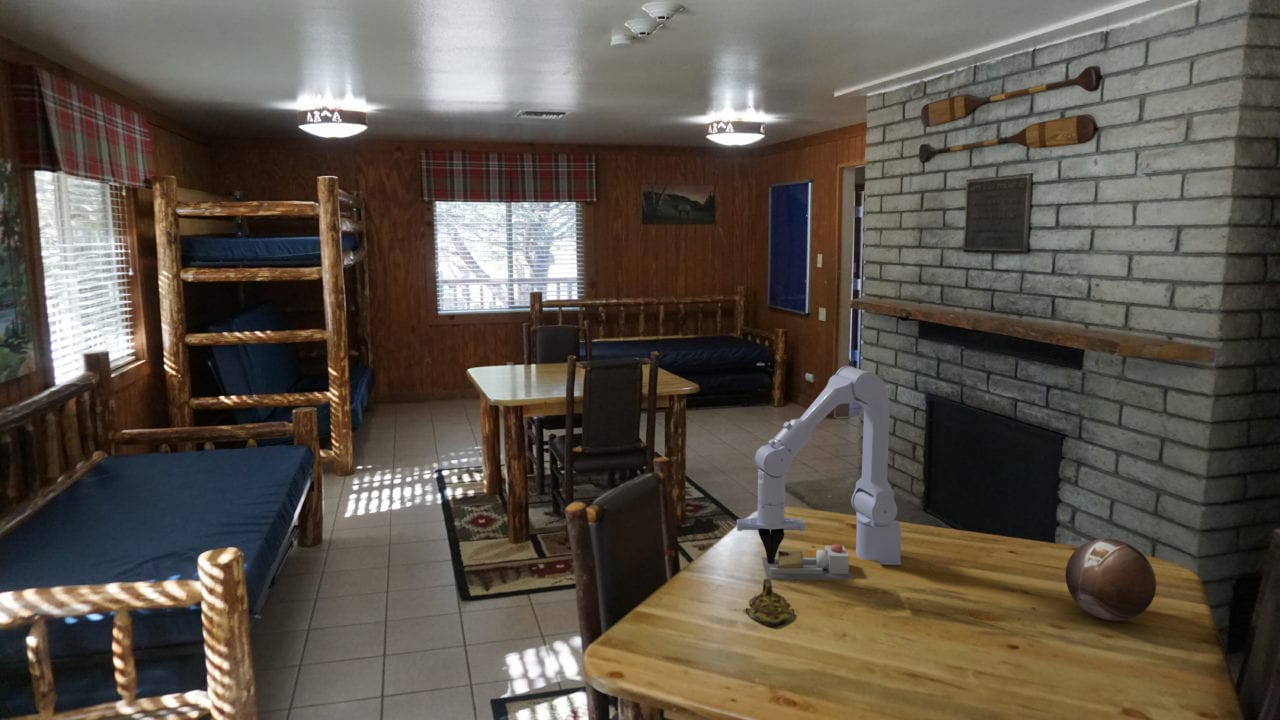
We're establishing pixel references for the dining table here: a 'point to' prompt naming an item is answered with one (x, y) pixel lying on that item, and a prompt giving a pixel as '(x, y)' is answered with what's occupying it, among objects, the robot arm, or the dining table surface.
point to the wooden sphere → (1110, 579)
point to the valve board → (815, 566)
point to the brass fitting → (790, 559)
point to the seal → (769, 607)
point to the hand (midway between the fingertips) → (770, 561)
